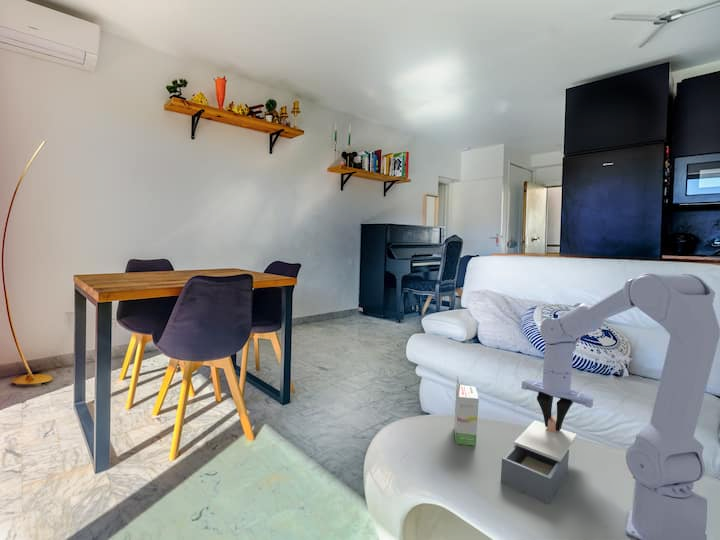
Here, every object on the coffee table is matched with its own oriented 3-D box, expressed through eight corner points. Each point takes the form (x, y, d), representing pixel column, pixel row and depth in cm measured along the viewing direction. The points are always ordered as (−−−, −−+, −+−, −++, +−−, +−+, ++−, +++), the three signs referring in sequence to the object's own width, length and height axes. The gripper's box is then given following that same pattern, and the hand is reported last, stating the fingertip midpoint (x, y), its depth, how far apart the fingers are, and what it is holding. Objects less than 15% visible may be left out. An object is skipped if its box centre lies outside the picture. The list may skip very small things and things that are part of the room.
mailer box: (567, 471, 78) (569, 449, 78) (548, 504, 68) (550, 478, 68) (523, 454, 84) (525, 433, 84) (500, 482, 74) (502, 458, 74)
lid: (576, 436, 83) (577, 423, 83) (560, 462, 73) (561, 447, 72) (534, 422, 89) (535, 410, 89) (514, 444, 79) (515, 430, 78)
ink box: (476, 447, 87) (480, 386, 86) (455, 444, 88) (458, 384, 87) (473, 429, 95) (476, 374, 94) (453, 427, 96) (456, 372, 95)
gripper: (597, 374, 82) (593, 432, 83) (529, 359, 92) (526, 411, 92) (591, 382, 77) (586, 444, 78) (520, 365, 86) (516, 420, 87)
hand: (553, 427), depth 85 cm, fingers closed on lid, 2 cm apart
